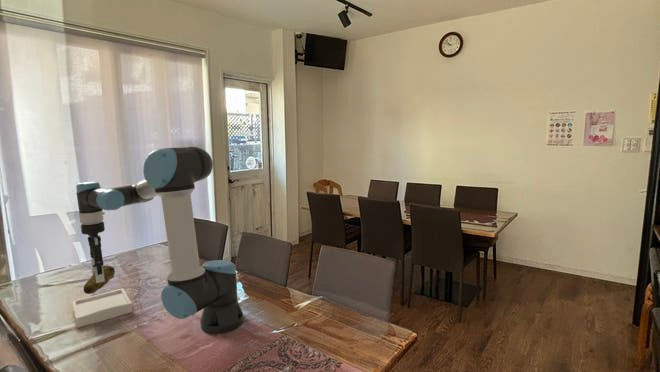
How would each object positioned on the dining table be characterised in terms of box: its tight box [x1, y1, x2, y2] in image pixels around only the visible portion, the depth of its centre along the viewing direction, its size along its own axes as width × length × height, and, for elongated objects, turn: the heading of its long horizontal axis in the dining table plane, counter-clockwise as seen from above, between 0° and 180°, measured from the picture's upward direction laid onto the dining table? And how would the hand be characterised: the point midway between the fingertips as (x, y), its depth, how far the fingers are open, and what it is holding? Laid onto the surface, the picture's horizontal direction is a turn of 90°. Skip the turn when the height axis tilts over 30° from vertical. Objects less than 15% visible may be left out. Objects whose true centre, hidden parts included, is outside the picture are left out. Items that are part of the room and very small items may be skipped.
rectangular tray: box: [71, 287, 133, 329], centre depth 143 cm, size 18×18×4 cm
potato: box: [83, 265, 115, 295], centre depth 141 cm, size 8×13×8 cm, turn 153°
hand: (98, 277), depth 141 cm, fingers closed on potato, 10 cm apart
